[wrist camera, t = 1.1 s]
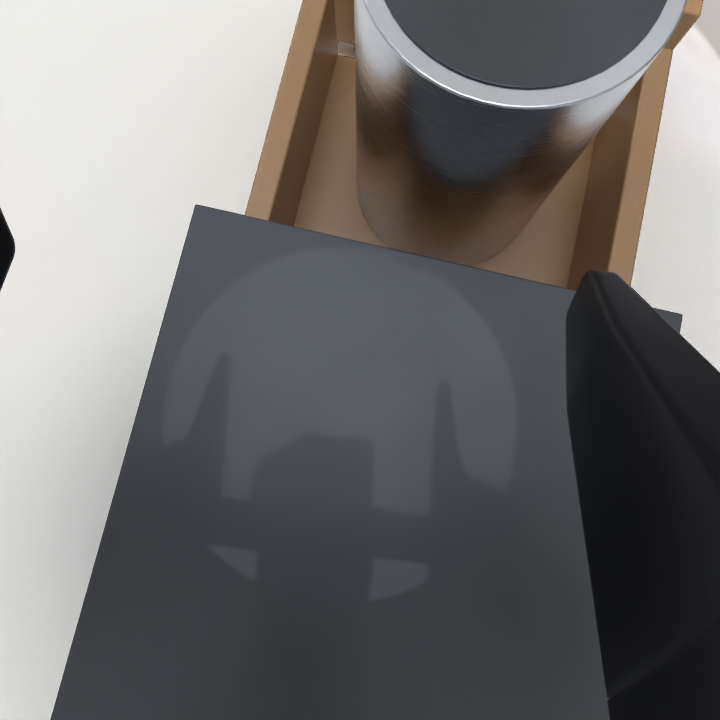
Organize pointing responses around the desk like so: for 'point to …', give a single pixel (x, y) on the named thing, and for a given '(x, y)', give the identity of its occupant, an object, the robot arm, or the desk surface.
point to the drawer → (544, 230)
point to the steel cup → (486, 109)
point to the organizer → (343, 497)
